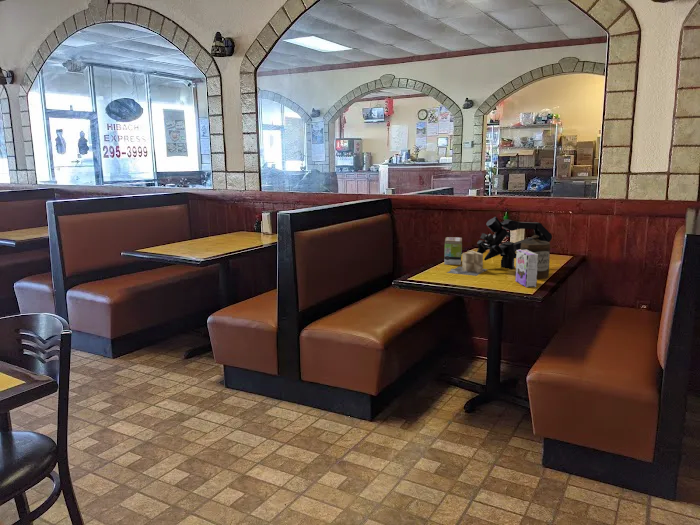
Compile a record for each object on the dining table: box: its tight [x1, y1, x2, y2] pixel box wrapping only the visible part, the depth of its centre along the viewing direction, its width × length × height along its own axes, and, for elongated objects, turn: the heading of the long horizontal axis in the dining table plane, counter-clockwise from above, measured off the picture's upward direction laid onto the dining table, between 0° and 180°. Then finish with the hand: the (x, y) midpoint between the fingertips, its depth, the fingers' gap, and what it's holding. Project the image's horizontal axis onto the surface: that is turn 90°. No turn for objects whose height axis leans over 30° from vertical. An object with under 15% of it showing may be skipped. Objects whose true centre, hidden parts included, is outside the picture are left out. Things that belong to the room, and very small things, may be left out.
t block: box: [461, 250, 484, 273], centre depth 307 cm, size 8×12×10 cm, turn 18°
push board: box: [446, 266, 488, 277], centre depth 307 cm, size 17×18×2 cm
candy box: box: [515, 249, 538, 288], centre depth 276 cm, size 14×6×16 cm, turn 5°
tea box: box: [443, 236, 463, 266], centre depth 331 cm, size 15×10×15 cm, turn 168°
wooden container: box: [520, 234, 551, 280], centre depth 292 cm, size 15×15×22 cm
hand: (480, 258), depth 309 cm, fingers open, 9 cm apart
